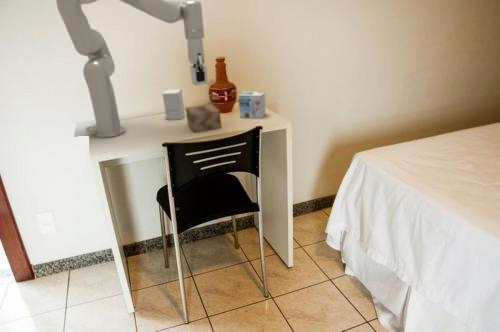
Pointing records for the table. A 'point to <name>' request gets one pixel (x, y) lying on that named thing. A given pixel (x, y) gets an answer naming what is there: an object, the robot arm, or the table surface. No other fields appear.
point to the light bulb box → (252, 104)
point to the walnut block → (203, 118)
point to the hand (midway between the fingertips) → (199, 79)
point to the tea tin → (194, 77)
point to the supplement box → (173, 104)
